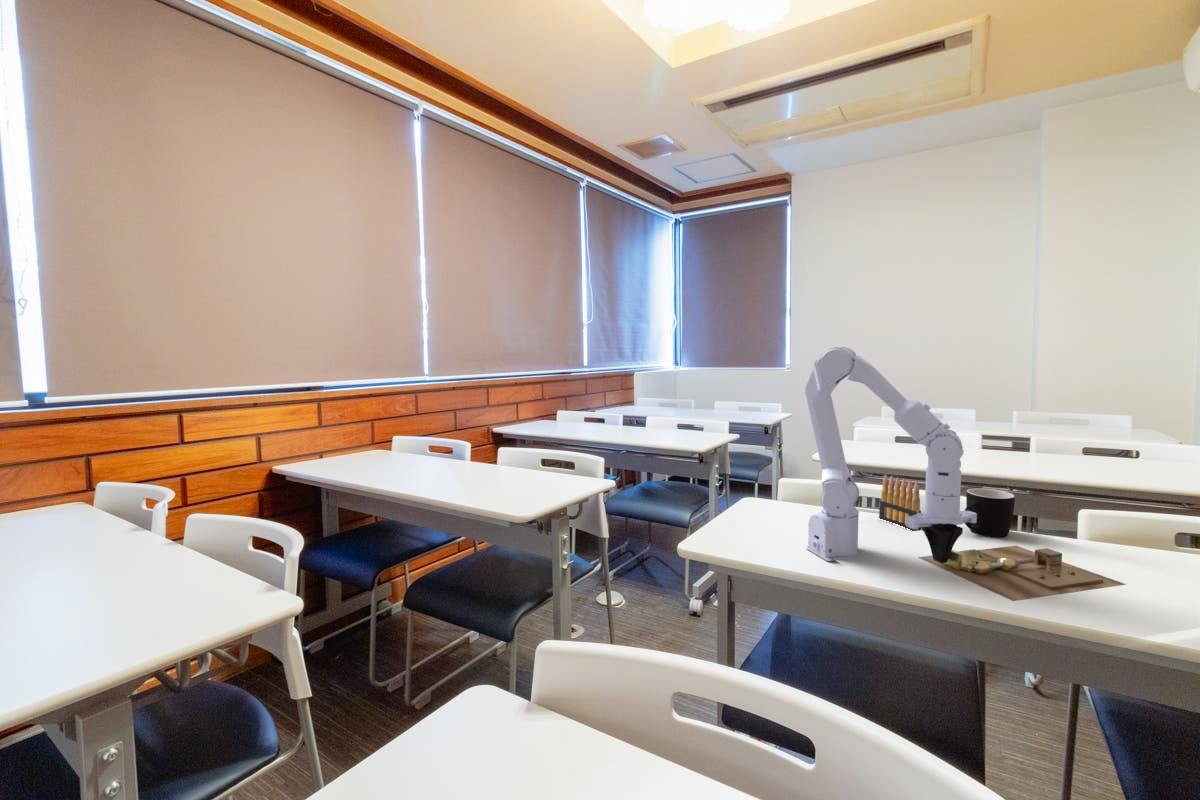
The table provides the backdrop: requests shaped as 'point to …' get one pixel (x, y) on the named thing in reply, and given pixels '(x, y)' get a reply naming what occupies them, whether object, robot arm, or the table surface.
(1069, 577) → the hinge base
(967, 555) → the leaf
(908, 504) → the ammunition clip
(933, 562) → the plank
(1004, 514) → the mug
